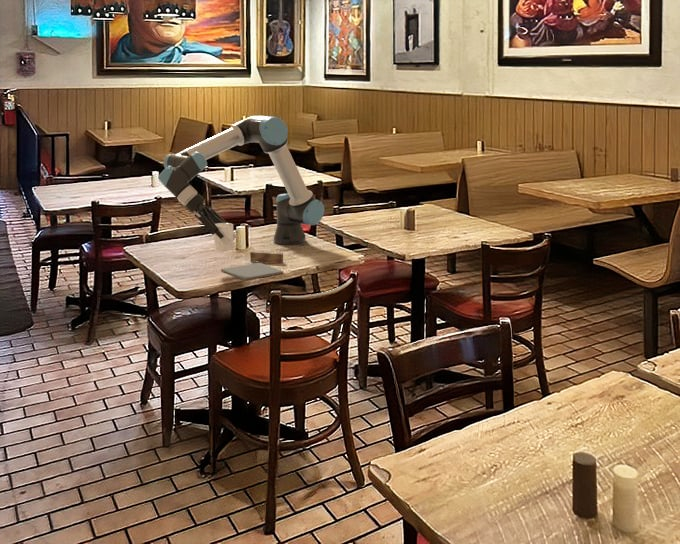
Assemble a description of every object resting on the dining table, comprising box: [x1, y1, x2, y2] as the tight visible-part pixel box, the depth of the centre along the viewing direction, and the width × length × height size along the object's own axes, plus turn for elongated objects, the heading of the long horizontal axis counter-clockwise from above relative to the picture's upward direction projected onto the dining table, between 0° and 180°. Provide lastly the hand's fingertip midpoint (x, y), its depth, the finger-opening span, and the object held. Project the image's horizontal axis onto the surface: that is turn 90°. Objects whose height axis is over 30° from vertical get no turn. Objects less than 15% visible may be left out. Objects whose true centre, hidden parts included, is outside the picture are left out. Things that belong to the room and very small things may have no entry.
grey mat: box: [221, 262, 284, 281], centre depth 302 cm, size 18×18×1 cm
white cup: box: [213, 222, 234, 252], centre depth 299 cm, size 8×8×10 cm
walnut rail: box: [249, 250, 284, 265], centre depth 318 cm, size 14×2×4 cm, turn 73°
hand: (232, 240), depth 299 cm, fingers closed on white cup, 8 cm apart
